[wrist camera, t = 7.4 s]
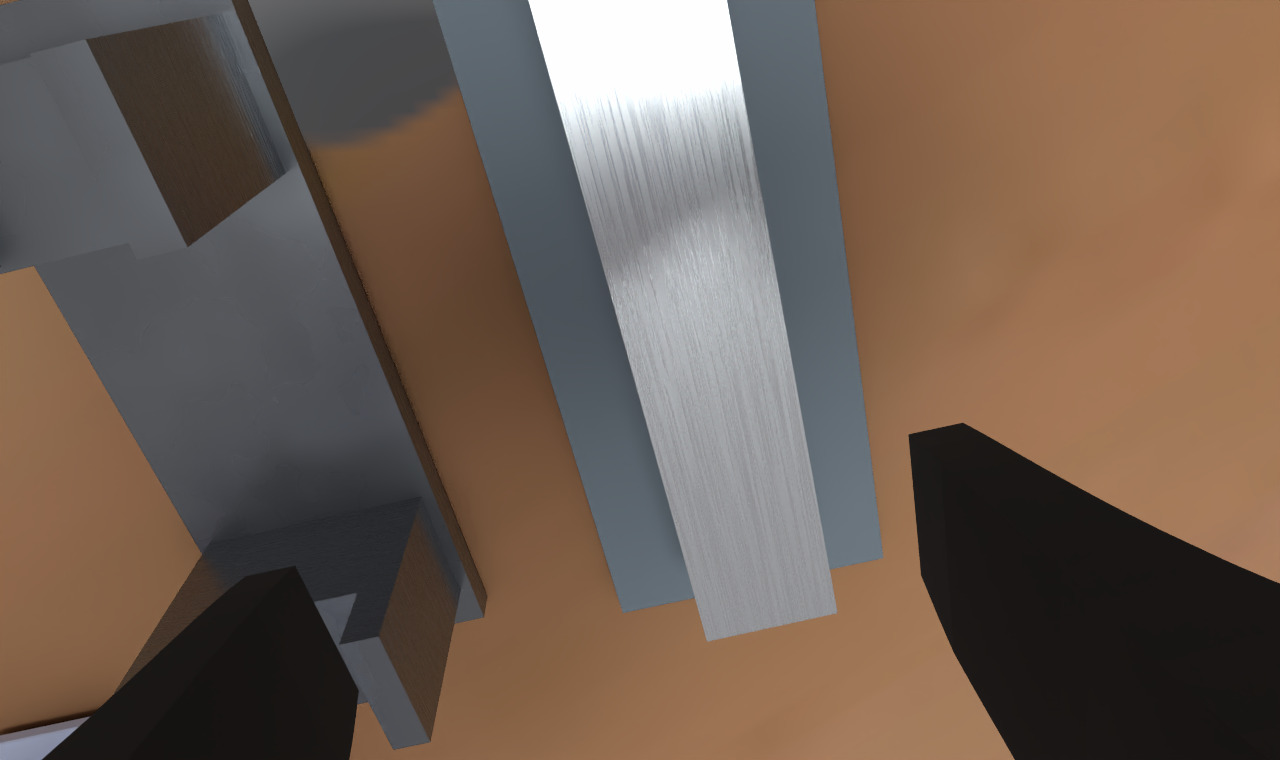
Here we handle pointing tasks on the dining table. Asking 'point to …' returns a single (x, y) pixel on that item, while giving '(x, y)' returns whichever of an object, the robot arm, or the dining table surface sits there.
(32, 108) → the rack
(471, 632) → the dining table surface
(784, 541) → the rail
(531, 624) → the dining table surface
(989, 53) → the dining table surface
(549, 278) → the mat
